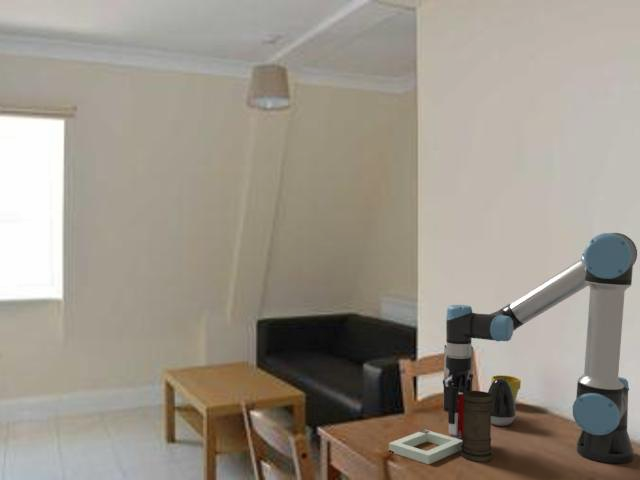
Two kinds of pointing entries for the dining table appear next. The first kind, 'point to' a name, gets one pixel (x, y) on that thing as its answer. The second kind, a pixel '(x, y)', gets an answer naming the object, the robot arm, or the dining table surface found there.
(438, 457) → the socket block
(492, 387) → the dark grey domed cylinder
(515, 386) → the plant pot
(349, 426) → the dining table surface
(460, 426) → the beverage can
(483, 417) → the container
